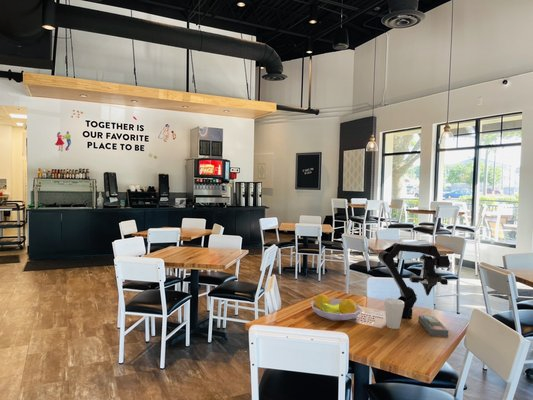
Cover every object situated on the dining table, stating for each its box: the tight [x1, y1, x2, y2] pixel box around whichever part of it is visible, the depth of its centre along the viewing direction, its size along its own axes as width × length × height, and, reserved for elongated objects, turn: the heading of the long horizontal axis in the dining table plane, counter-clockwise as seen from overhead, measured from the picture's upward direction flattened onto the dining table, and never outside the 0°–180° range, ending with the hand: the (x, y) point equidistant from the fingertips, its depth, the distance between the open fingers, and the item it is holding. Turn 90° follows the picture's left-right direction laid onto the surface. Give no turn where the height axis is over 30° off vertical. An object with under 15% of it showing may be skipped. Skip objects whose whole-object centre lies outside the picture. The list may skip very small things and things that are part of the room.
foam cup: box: [384, 297, 404, 330], centre depth 193 cm, size 10×9×13 cm
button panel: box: [418, 314, 449, 337], centre depth 193 cm, size 8×20×3 cm, turn 174°
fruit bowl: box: [311, 294, 362, 322], centre depth 203 cm, size 28×27×11 cm
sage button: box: [428, 319, 438, 324], centre depth 193 cm, size 4×4×2 cm
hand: (427, 295), depth 209 cm, fingers closed
